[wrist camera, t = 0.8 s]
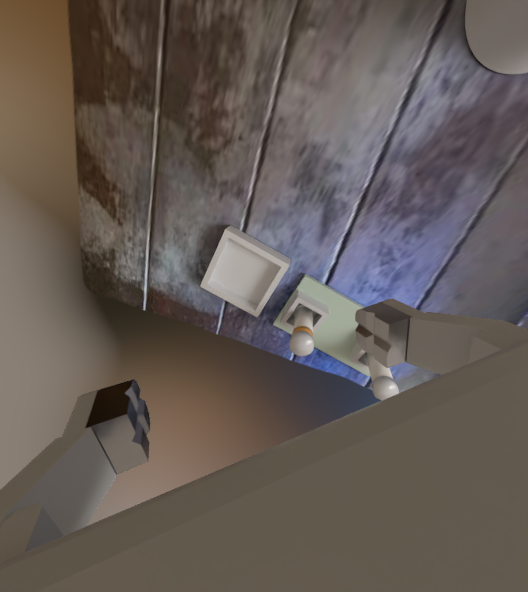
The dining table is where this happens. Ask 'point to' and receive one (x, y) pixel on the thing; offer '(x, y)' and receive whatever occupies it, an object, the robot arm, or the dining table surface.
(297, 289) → the fuse board
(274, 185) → the dining table surface
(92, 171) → the dining table surface
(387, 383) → the peg
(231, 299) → the parts tray
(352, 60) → the dining table surface
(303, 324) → the orange-banded cylinder plug
